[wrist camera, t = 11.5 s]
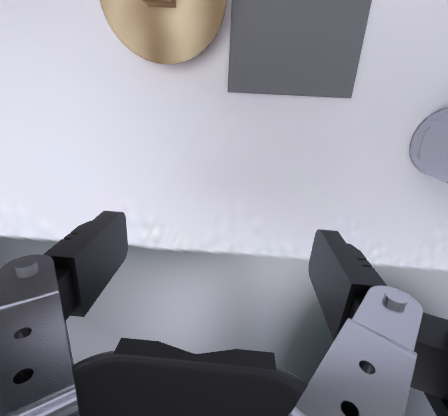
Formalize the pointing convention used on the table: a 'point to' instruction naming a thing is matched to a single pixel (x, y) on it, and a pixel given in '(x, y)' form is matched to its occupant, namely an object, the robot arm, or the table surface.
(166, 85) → the table surface
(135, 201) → the table surface
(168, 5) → the lid
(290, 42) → the mat
